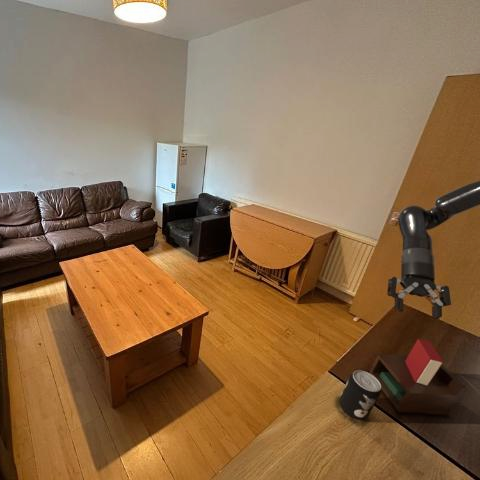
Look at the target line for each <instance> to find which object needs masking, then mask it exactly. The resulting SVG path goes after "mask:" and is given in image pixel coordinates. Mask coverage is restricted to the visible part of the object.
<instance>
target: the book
mask: <svg viewBox="0 0 480 480" xmlns="http://www.w3.org/2000/svg"><path fill="white" fill-rule="evenodd" d="M407 356H408V357H407V359H406V361H405V362H406V364H407V367H408V369H409V371H410V373H411V375H412V377H413V379H414V381H415V382H417V383H420V384H424V385H427V386H428V384H429V383H430V381H431V380H432V379H433V377H434V376H435V374H436V373H437V371H438V370H439V368H440V367H441V365H443V364H444V360H443V359H442V357H441V356H440V354H439V353H438V352H437V350H436V348H435V347H434V345H433V343H432V341H429V340H425V339H421V338H417V339H416V342H415V343H414V344H413V347H412V349H411V350H410V352H409V354H407Z"/></svg>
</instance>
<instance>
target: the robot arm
mask: <svg viewBox="0 0 480 480" xmlns="http://www.w3.org/2000/svg"><path fill="white" fill-rule="evenodd" d="M477 207H480V179H478V180H475V181H473V182H470V183H467V184H465V185H462V186H459V187H457V188H455V189H453V190H450V191H449V192H446V193H445V194H442V195H440V196H439V197H437V198H435V200H434V206H433V207H430V209H428V210H427V209H425V208H423V207H422V206H420V205H409V206H405V207H404V208H402V210H400V212H399V214H398V217H397V223H398V224H397V225H398V227H399V232H400V236H401V238H402V243H401V245H402V247H401V248H402V250H401V251H402V252H401V256H400V257H401V258H400V259H401V260H400V273H401V274H400V278H397V277H396V276H392V277H390V278H388V281H387V290H386V291H387V292H386V295H387V296H388V297H392V298H393V299H394V309H395V310H396V312H404V297H405V296H406V295H408V294H409V295H410V296H416V297H419V298H424V299H425V300H427V301H428V302H429V303H430V304H431V305H432V306H431V318H432V319H433V320H440V319H441V318H442V316H443V307H449V306H451V305H452V300H451V299H452V298H451V293H450V287H449V285H437V284H436V283H435V279H436V276H435V274H436V273H435V257H434V249H433V248H434V247H433V246H434V245H433V238H432V236H431V235H430V234H429V232H428V231H430V230H431V231H432V230H433V229H435V228H437V227H439V226H440V225H442V224H444V223H445V222H447V221H448V220H450V219H451V218H453V217H454V216H456V215H459V214H462V213H464V212H466V211H468V210H471V209H475V208H477ZM397 285H400V286H401V287H402V289H401V290H399V291H398V292H397ZM435 290H436V292H437V293H438V295H437V293H436V292H435Z"/></svg>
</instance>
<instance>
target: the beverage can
mask: <svg viewBox="0 0 480 480" xmlns="http://www.w3.org/2000/svg"><path fill="white" fill-rule="evenodd" d="M381 394H382V389H381V384H380V382H379V381H378V380H377V379H376V378H375V377H374V376H373V375H371V374H370V373H369V372H368V371H364V370H361V369H360V370H359V369H358V370H355V371H354V372H352V373H351V374H349V377H348V379H347V381H346V383H345V385H344V387H343V388H342V392H341V393H340V396H339V398H338V405H339V406H340V408H341V410H342V411H343V412H344V414H346V415H347V416H348V417H350V418H351V419H354V420H357V421H364V420H365V421H366V420H367V419H368V417H369V416H370V414H371V412H372V410H373V409H374V407H375V405H376V403H377V401H378V400H379V398H380V396H381Z"/></svg>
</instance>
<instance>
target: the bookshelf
mask: <svg viewBox="0 0 480 480" xmlns="http://www.w3.org/2000/svg"><path fill="white" fill-rule="evenodd" d="M407 357H408V354H407V355H406V354H405V355H404V354H381V353H378V354H377V355H376V357H375V359H374V361H373V363H372V365H371V367H370V368H369V371H368V373H370V374H371V375H373V376H374V377H375V378H376V379H377V380H378V381H379V382H380V384H381V391H382V392H383V394H384V395H385V396H386V397H387V398H388V400H389V401H390V402H391V404H392V405H393V407H394V408H395V409H396V410H397V412H398V413H412V414H427V415H428V414H429V415H443V416H444V415H445V416H446V415H447V414H448V413H449V412H450V411H451V409H452V408H453V406H455V404H456V403H457V402H458V400H459V399H460V397H462V395H463V394H464V392H465V391H466V390H467V386H466V385H464V384H463V383H462V382H461V381H460V380H459V379H458V378H457V377H456V376H455V375H453V374H452V372H450V371H449V369H448V368H446V367H445V366H444V365H443V364H442V365H441V367H440V368H439V370H438V371H437V373H436V374H435V376H434V377H433V379H432V380H431V381H430V383H429V384H428V386H427V385H424V384H420V383H417V382H415V381H414V379H413V377H412V375H411V373H410V371H409V369H408V367H407V364H406V362H405V361H406V359H407Z"/></svg>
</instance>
